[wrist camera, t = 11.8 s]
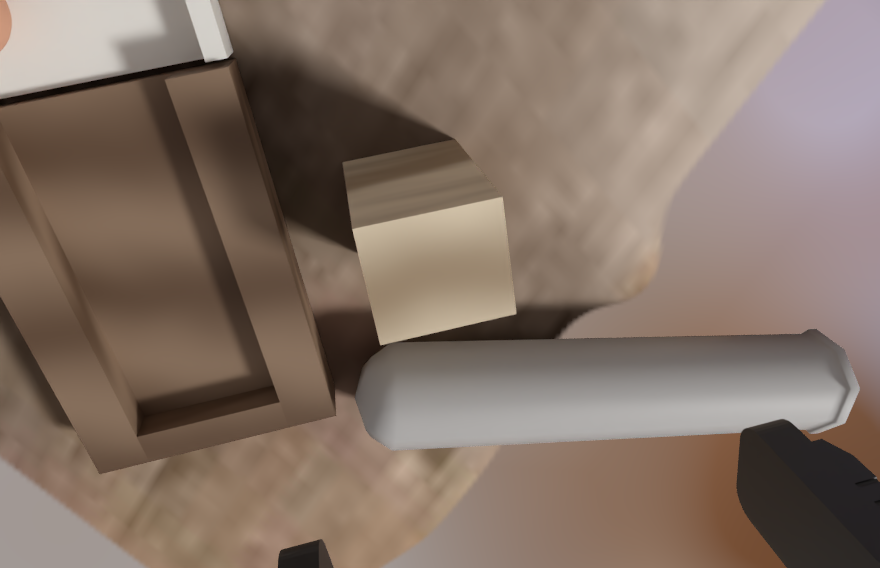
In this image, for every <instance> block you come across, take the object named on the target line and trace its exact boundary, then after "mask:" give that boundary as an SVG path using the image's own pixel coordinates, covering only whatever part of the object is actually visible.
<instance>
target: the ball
mask: <svg viewBox="0 0 880 568" xmlns="http://www.w3.org/2000/svg"><path fill="white" fill-rule="evenodd" d="M11 29H12V18H11V13H10V9H9V7H8V4H7V2H6V0H0V51H1V50H2V49H3V48H4V47H5V45H6V44H7V42H8V40H9V38H10V34H11Z"/></svg>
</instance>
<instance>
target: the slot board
mask: <svg viewBox="0 0 880 568" xmlns="http://www.w3.org/2000/svg"><path fill="white" fill-rule="evenodd" d="M0 297H1V299H2V300H3V302H4V304H5V306H6V308H7V309H8V311H9V313H10V315H11V317H12V318H13V320H14V322H15V324H16V325H17V327H18V329H19V331H20V333H21V334H22V336H23V338H24V340H25V342H26V343H27V345H28V347H29V349H30V350H31V352H32V354H33V356H34V358H35V359H36V361H37V363H38V365H39V367H40V368H41V370H42V372H43V374H44V375H45V377H46V379H47V381H48V383H49V384H50V386H51V388H52V390H53V392H54V393H55V395H56V397H57V399H58V400H59V402H60V404H61V406H62V408H63V409H64V411H65V413H66V415H67V416H68V418H69V420H70V422H71V424H72V425H73V427H74V429H75V431H76V433H77V434H78V436H79V438H80V440H81V441H82V443H83V445H84V447H85V449H86V450H87V452H88V454H89V456H90V458H91V459H92V461H93V463H94V465H95V466H96V468H97V470H98V472H99V474H102V473H106V472H110V471H114V470H119V469H123V468H127V467H131V466H135V465H139V464H143V463H147V462H151V461H155V460H159V459H163V458H167V457H171V456H175V455H179V454H183V453H187V452H191V451H195V450H199V449H203V448H207V447H211V446H215V445H220V444H224V443H228V442H232V441H236V440H240V439H244V438H248V437H252V436H256V435H260V434H264V433H268V432H272V431H276V430H280V429H284V428H288V427H292V426H296V425H300V424H304V423H308V422H312V421H317V420H321V419H325V418H329V417H333V416H336V405H335V386H334V382H333V379H332V375H331V372H330V369H329V365H328V362H327V359H326V356H325V352H324V349H323V346H322V342H321V339H320V336H319V332H318V329H317V326H316V322H315V319H314V316H313V313H312V309H311V306H310V303H309V299H308V296H307V293H306V289H305V286H304V283H303V280H302V276H301V273H300V270H299V266H298V263H297V260H296V256H295V253H294V250H293V247H292V243H291V240H290V237H289V233H288V230H287V227H286V223H285V220H284V217H283V213H282V210H281V207H280V204H279V200H278V197H277V194H276V190H275V187H274V184H273V180H272V177H271V174H270V171H269V167H268V164H267V161H266V157H265V154H264V151H263V147H262V144H261V141H260V138H259V134H258V131H257V128H256V124H255V121H254V118H253V114H252V111H251V108H250V104H249V101H248V98H247V95H246V91H245V88H244V85H243V81H242V78H241V75H240V71H239V68H238V65H237V62H236V58H235V59H230V60H225V61H220V62H215V63H210V64H205V65H200V66H195V67H190V68H185V69H180V70H175V71H170V72H165V73H160V74H155V75H150V76H145V77H140V78H135V79H130V80H125V81H120V82H115V83H110V84H105V85H100V86H95V87H90V88H85V89H80V90H75V91H70V92H65V93H60V94H55V95H50V96H45V97H39V98H34V99H29V100H24V101H19V102H14V103H9V104H4V105H0Z"/></svg>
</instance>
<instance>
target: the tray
mask: <svg viewBox="0 0 880 568" xmlns="http://www.w3.org/2000/svg"><path fill="white" fill-rule="evenodd" d="M6 2H7V4H8V7H9V9H10V13H11V18H12V29H11V34H10V38H9V40H8V42H7V44H6V45H5V47H4V48H3V49H2V50H1V51H0V99H3V98H8V97H13V96H18V95H23V94H28V93H33V92H38V91H43V90H48V89H54V88H59V87H64V86H69V85H74V84H79V83H84V82H89V81H94V80H99V79H104V78H109V77H114V76H119V75H124V74H129V73H134V72H139V71H144V70H149V69H154V68H159V67H164V66H169V65H174V64H179V63H184V62H189V61H194V60H200V59H204V60H205V63H206V62H211V61H216V60H221V59H226V58H228V57H229V56H230V55H231V54H232V53H233V48H232V45H231V42H230V38H229V35H228V32H227V29H226V25H225V22H224V19H223V15H222V12H221V9H220V5H219V2H218V0H6Z"/></svg>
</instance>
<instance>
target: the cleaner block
mask: <svg viewBox="0 0 880 568" xmlns="http://www.w3.org/2000/svg"><path fill="white" fill-rule="evenodd" d="M342 163H343V170H344V177H345V183H346V190H347V197H348V204H349V211H350V217H351V224H352V230H353V234H354V239H355V243H356V247H357V251H358V255H359V259H360V263H361V268H362V272H363V276H364V280H365V284H366V288H367V293H368V297H369V301H370V305H371V309H372V313H373V317H374V322H375V326H376V330H377V334H378V338H379V342H380V345H384V344H389V343H393V342H397V341H402V340H406V339H410V338H415V337H419V336H423V335H428V334H432V333H436V332H440V331H445V330H449V329H453V328H458V327H462V326H466V325H471V324H475V323H479V322H484V321H488V320H492V319H497V318H501V317H505V316H510V315H514V314H516V306H515V297H514V289H513V280H512V272H511V263H510V255H509V247H508V238H507V230H506V221H505V213H504V205H503V197H502V196H501V194H500V193H499V192H498V191H497V189H496V188H495V187H494V186H493V185H492V183H491V182H490V181H489V180H488V179H487V177H486V176H485V175H484V174H483V172H482V171H481V170H480V169H479V168H478V166H477V165H476V164H475V163H474V162H473V160H472V159H471V158H470V157H469V155H468V154H467V153H466V152H465V151H464V149H463V148H462V147H461V146H460V145H459V143H458V142H457V141H456V140H455V139H453V140H448V141H443V142H438V143H433V144H429V145H424V146H419V147H414V148H409V149H404V150H399V151H395V152H390V153H385V154H380V155H375V156H370V157H365V158H361V159H356V160H351V161H346V162H342Z"/></svg>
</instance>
